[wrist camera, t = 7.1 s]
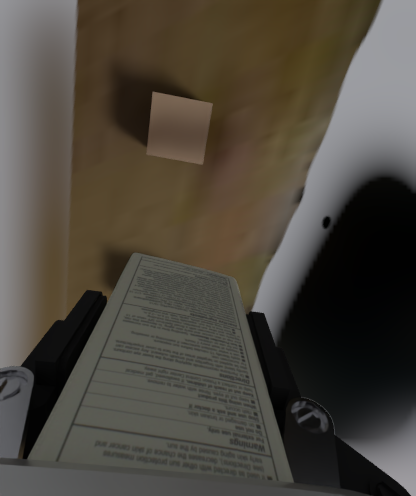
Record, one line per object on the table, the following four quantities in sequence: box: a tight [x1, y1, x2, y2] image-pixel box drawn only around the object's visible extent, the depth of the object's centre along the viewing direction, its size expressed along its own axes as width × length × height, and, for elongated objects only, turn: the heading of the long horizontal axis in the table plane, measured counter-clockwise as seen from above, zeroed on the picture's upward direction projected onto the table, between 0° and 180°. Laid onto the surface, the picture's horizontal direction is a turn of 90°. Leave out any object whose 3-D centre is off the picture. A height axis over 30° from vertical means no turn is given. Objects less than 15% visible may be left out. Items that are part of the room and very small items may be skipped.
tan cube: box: [147, 92, 213, 165], centre depth 28 cm, size 5×5×5 cm
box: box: [27, 253, 294, 483], centre depth 9 cm, size 5×4×11 cm
